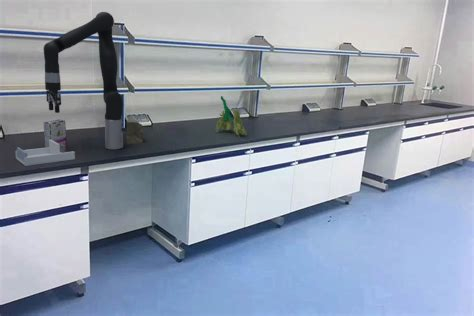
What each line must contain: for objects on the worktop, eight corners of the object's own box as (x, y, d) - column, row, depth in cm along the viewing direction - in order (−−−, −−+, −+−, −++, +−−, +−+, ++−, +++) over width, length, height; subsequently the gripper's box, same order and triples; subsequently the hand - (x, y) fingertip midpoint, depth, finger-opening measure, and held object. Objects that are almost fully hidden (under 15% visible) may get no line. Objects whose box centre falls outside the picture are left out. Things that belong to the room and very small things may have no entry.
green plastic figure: (250, 134, 294) (248, 94, 284) (234, 140, 283) (231, 98, 272) (225, 129, 311) (222, 90, 301) (209, 134, 300) (206, 94, 289)
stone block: (134, 138, 264) (134, 115, 260) (143, 143, 252) (144, 120, 248) (119, 139, 258) (119, 116, 254) (127, 144, 246) (127, 120, 242)
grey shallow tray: (63, 152, 220) (63, 142, 219) (74, 159, 210) (74, 148, 209) (16, 158, 204) (15, 147, 202) (25, 166, 194) (24, 154, 192)
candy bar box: (60, 147, 230) (58, 119, 226) (67, 148, 228) (65, 120, 224) (44, 151, 220) (42, 121, 215) (51, 152, 218) (50, 123, 214)
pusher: (59, 151, 217) (58, 138, 215) (67, 156, 209) (67, 143, 207) (49, 152, 213) (48, 139, 211) (58, 158, 205) (57, 144, 203)
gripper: (65, 82, 211) (66, 113, 216) (54, 79, 221) (56, 108, 226) (50, 82, 206) (52, 114, 211) (40, 79, 216) (42, 109, 220)
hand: (54, 111), depth 218 cm, fingers open, 8 cm apart
